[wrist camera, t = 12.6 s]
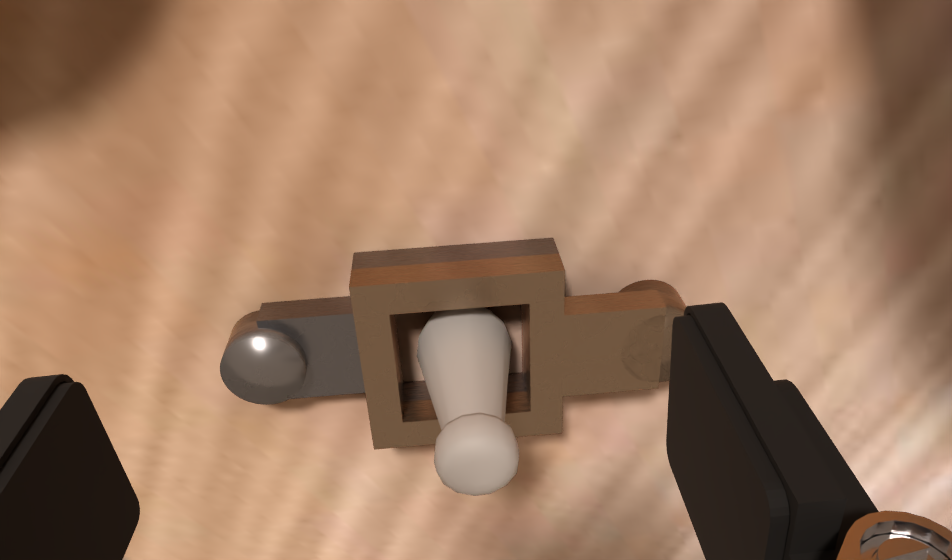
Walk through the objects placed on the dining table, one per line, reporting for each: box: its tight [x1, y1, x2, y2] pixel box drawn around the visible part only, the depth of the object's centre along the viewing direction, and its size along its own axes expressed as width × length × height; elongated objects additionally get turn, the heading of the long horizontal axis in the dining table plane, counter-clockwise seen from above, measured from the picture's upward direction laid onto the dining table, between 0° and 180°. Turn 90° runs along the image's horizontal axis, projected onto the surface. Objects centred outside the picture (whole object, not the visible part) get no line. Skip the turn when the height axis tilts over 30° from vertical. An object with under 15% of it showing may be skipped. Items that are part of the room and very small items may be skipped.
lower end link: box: [220, 238, 559, 405], centre depth 46 cm, size 20×12×3 cm, turn 93°
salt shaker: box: [417, 307, 519, 496], centre depth 42 cm, size 6×6×13 cm
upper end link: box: [349, 254, 686, 449], centre depth 46 cm, size 20×12×4 cm, turn 93°
